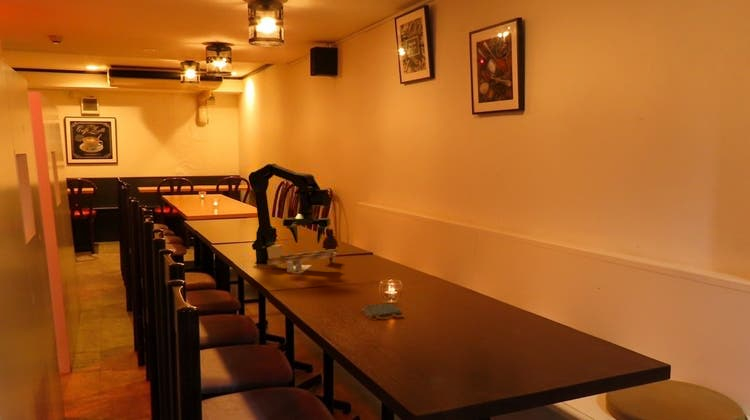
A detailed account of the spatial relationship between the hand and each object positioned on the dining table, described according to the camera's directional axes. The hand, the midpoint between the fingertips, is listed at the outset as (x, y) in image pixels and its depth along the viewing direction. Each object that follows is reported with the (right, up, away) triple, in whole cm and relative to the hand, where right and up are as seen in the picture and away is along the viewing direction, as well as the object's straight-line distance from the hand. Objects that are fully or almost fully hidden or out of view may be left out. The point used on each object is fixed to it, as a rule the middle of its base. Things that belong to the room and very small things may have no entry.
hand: (307, 242), depth 242 cm
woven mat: (+30, -18, -65) cm, 74 cm away
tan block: (-13, -7, +1) cm, 15 cm away
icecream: (+9, -10, +16) cm, 20 cm away
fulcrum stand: (-5, -12, 0) cm, 13 cm away
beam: (-2, -7, -1) cm, 7 cm away
